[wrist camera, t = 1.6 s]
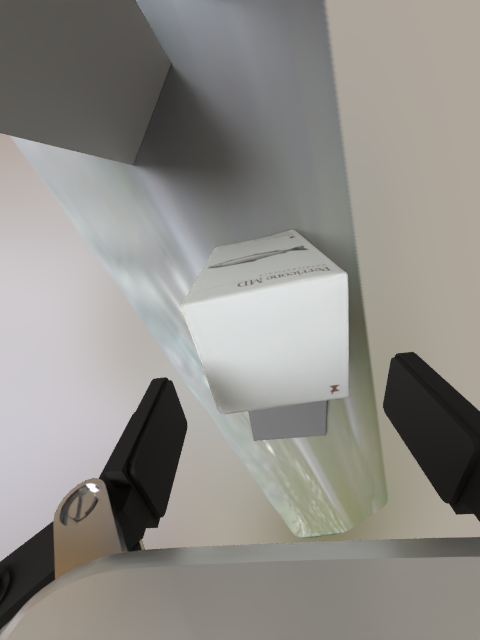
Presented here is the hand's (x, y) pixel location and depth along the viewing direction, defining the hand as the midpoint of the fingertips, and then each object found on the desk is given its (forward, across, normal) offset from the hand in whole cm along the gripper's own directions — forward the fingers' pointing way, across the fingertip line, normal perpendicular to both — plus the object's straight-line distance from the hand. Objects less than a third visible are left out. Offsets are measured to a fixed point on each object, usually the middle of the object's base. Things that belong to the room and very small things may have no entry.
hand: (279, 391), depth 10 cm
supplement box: (+14, 0, -1) cm, 14 cm away
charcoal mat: (+14, -2, +17) cm, 22 cm away
